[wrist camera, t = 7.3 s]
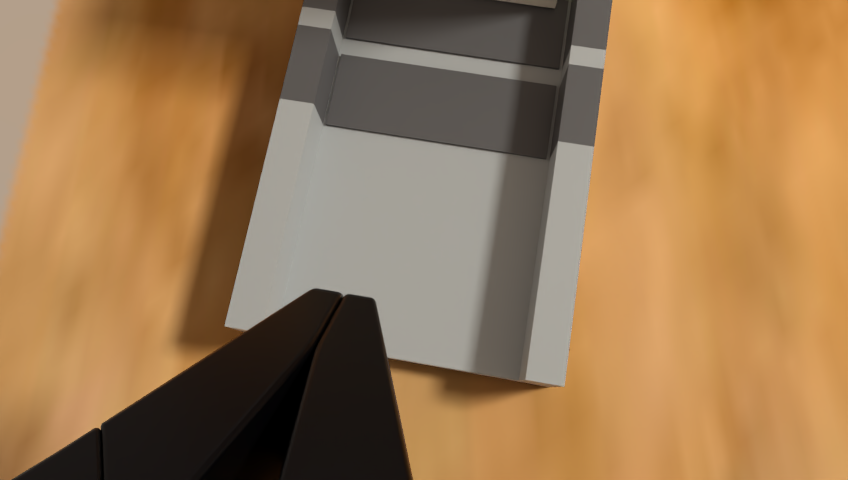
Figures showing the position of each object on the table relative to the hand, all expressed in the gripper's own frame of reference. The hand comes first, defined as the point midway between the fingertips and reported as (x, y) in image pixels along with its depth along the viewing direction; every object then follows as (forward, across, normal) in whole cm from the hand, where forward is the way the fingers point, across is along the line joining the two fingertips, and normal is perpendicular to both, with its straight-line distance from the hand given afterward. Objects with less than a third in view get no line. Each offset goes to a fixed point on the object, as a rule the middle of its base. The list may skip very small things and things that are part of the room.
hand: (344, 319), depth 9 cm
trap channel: (+14, 0, +1) cm, 14 cm away
